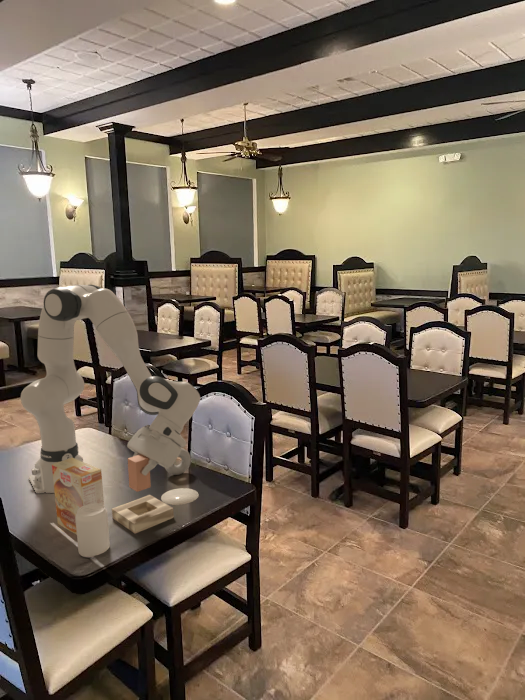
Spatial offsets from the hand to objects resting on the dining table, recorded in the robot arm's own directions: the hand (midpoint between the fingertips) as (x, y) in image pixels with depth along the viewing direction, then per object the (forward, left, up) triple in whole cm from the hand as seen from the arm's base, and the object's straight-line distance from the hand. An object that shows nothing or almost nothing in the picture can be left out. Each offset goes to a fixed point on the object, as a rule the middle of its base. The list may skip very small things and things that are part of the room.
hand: (137, 471), depth 156 cm
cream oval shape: (-4, +17, -16) cm, 23 cm away
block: (0, +1, -5) cm, 5 cm away
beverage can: (+5, -17, -16) cm, 24 cm away
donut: (-21, +28, -16) cm, 38 cm away
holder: (0, +1, -16) cm, 16 cm away
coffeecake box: (-8, -15, -16) cm, 23 cm away
